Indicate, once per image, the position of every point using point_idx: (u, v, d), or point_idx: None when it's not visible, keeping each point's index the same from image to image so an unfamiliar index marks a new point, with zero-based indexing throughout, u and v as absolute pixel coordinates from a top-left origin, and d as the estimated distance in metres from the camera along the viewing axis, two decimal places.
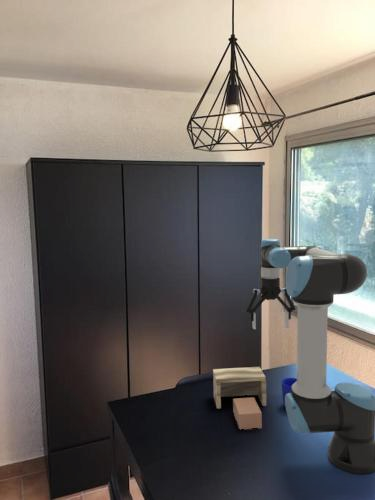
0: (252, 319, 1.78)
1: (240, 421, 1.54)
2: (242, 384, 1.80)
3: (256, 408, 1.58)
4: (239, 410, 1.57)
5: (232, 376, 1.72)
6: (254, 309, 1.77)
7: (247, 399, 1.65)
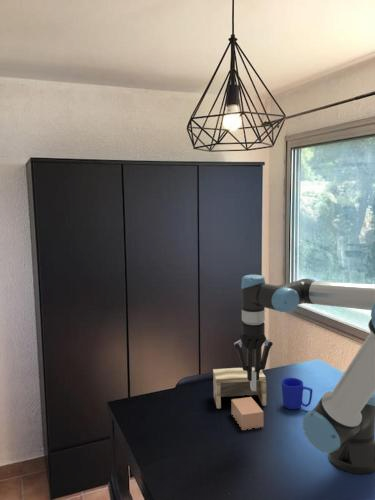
0: (250, 379, 1.46)
1: (243, 421, 1.54)
2: (242, 384, 1.80)
3: (256, 407, 1.58)
4: (241, 410, 1.56)
5: (232, 376, 1.72)
6: (249, 366, 1.45)
7: (245, 399, 1.65)
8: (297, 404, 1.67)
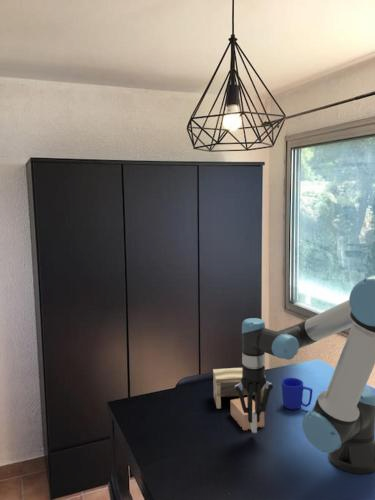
0: (250, 420, 1.48)
1: (244, 422, 1.54)
2: None
3: None
4: (242, 411, 1.56)
5: (232, 376, 1.72)
6: (250, 408, 1.47)
7: (244, 399, 1.65)
8: (297, 404, 1.67)
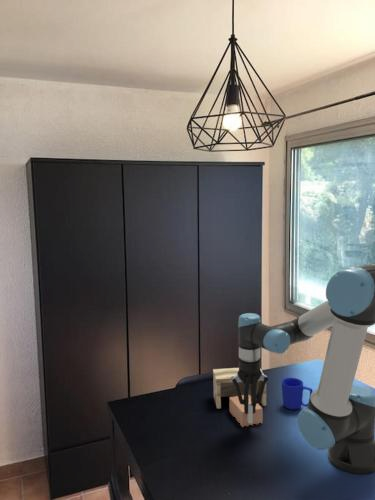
0: (246, 412, 1.54)
1: (243, 419, 1.56)
2: (242, 384, 1.80)
3: None
4: (240, 408, 1.58)
5: (232, 376, 1.72)
6: (246, 400, 1.53)
7: (243, 396, 1.67)
8: (297, 404, 1.67)
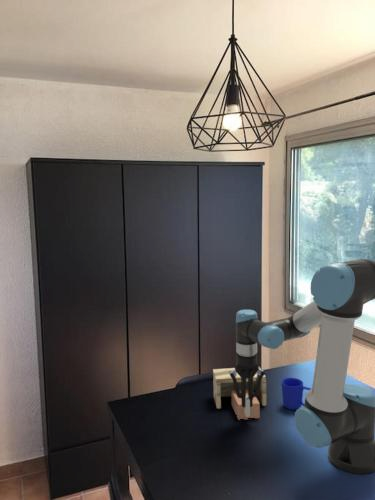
0: (244, 405, 1.59)
1: (239, 411, 1.61)
2: None
3: (254, 399, 1.65)
4: (238, 401, 1.63)
5: None
6: (243, 394, 1.57)
7: None
8: (297, 404, 1.67)
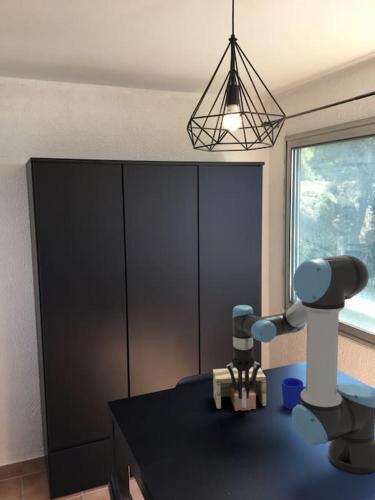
0: (240, 397, 1.65)
1: (236, 402, 1.68)
2: None
3: (250, 391, 1.71)
4: (235, 392, 1.70)
5: None
6: (240, 386, 1.64)
7: (243, 383, 1.78)
8: (297, 404, 1.67)
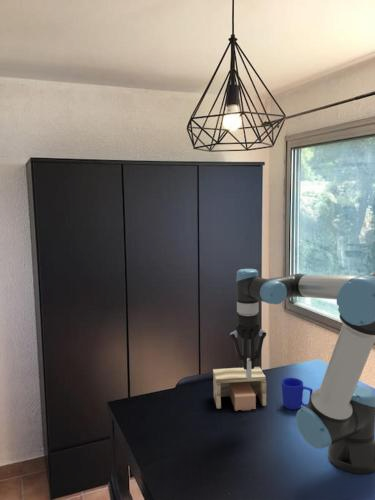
0: (245, 367, 1.54)
1: (236, 403, 1.68)
2: None
3: (250, 391, 1.71)
4: (235, 393, 1.70)
5: (232, 376, 1.72)
6: (245, 355, 1.53)
7: (243, 384, 1.78)
8: (297, 404, 1.67)
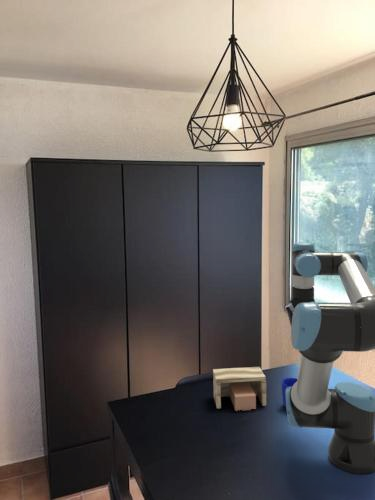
0: None
1: (236, 403, 1.68)
2: None
3: (250, 391, 1.71)
4: (235, 393, 1.70)
5: (232, 376, 1.72)
6: None
7: (243, 384, 1.78)
8: None
